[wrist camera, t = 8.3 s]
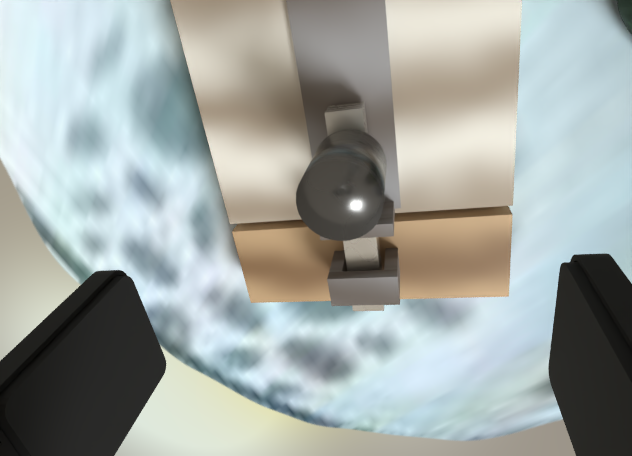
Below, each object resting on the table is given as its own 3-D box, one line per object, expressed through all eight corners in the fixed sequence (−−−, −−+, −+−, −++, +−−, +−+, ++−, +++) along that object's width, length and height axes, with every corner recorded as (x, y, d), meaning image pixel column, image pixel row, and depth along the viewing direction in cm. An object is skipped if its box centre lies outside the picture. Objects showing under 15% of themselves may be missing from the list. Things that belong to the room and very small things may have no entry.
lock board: (186, -25, 26) (129, -28, 21) (512, -90, 23) (548, -116, 17) (262, 280, 36) (236, 332, 30) (499, 271, 32) (520, 330, 26)
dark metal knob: (311, 107, 25) (284, 142, 19) (382, 99, 24) (377, 133, 19) (341, 296, 31) (327, 366, 25) (399, 295, 30) (399, 367, 24)
